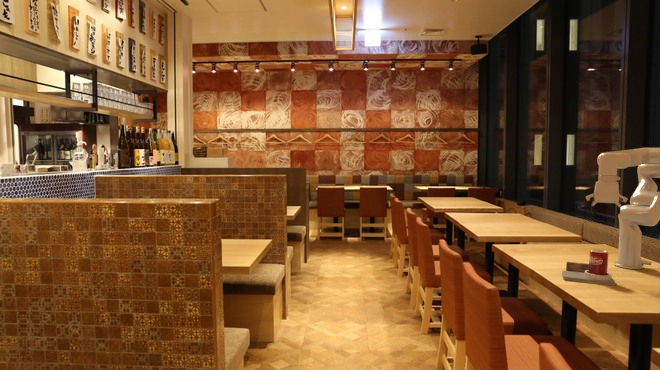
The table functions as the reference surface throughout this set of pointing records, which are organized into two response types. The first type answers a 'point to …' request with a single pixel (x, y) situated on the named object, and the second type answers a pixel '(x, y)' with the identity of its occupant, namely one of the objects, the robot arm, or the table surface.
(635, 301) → the table surface
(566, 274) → the board
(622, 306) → the table surface
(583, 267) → the rail
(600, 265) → the soda can
